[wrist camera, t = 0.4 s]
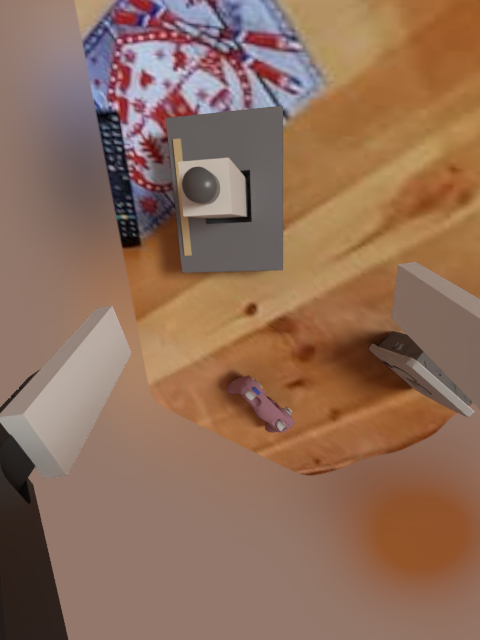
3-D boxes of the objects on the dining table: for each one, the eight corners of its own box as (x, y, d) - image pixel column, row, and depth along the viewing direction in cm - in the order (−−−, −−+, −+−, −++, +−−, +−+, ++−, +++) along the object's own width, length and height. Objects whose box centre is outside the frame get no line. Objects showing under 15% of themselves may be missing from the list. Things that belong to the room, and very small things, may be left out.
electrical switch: (364, 346, 39) (395, 376, 30) (394, 317, 38) (435, 340, 29) (414, 389, 40) (458, 430, 31) (444, 362, 39) (499, 398, 30)
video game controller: (287, 408, 46) (306, 424, 39) (267, 430, 45) (282, 450, 38) (244, 364, 44) (255, 372, 37) (222, 386, 44) (230, 399, 37)
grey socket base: (178, 129, 34) (164, 117, 30) (282, 119, 32) (282, 104, 28) (191, 267, 39) (181, 272, 35) (282, 265, 37) (282, 270, 33)
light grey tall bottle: (214, 183, 35) (168, 156, 21) (248, 180, 34) (223, 151, 20) (217, 218, 36) (174, 215, 22) (249, 217, 36) (227, 213, 21)
